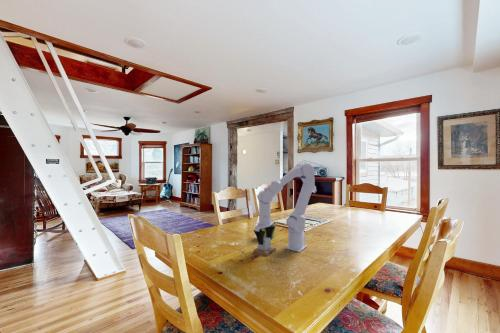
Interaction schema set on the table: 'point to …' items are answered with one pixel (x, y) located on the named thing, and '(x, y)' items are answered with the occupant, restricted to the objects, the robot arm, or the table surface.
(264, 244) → the block
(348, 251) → the table surface
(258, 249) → the slab
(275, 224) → the plant pot
